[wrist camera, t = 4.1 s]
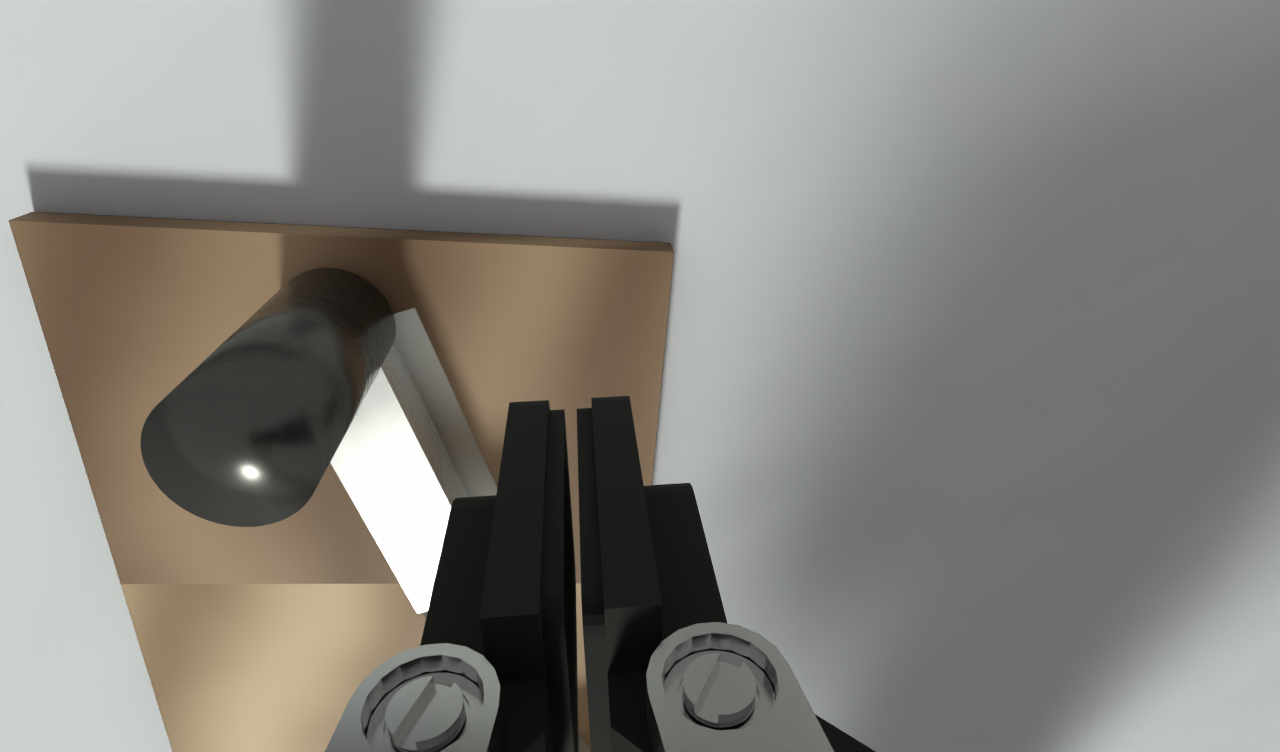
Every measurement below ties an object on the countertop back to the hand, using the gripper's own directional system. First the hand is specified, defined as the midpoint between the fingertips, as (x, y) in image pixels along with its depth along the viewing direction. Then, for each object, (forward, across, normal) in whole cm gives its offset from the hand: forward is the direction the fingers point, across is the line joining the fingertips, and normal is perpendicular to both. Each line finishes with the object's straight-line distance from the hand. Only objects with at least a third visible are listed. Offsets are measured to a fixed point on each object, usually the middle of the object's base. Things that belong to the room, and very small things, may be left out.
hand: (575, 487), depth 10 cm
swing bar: (+8, +5, +5) cm, 10 cm away
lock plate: (+9, +6, +9) cm, 14 cm away
